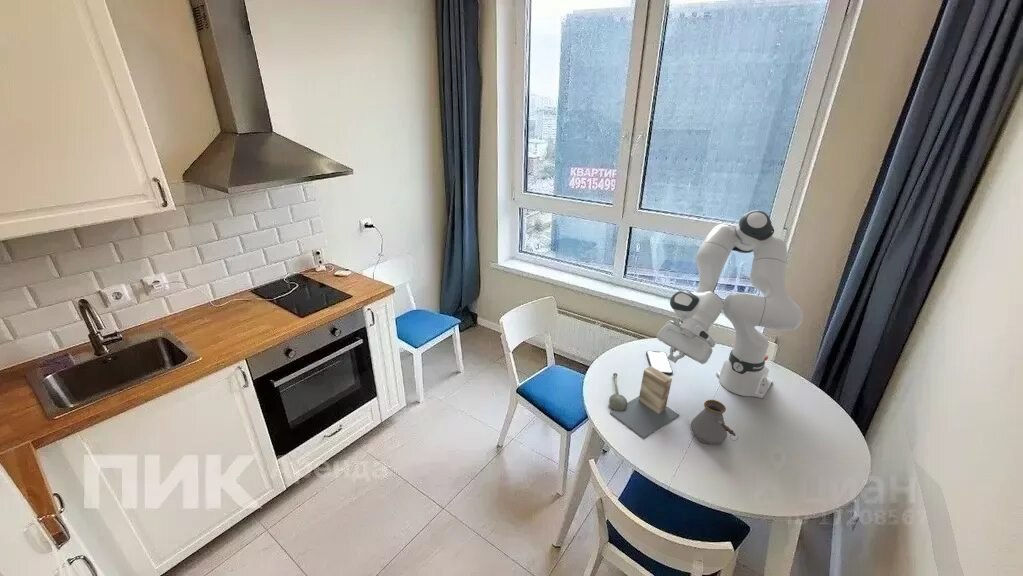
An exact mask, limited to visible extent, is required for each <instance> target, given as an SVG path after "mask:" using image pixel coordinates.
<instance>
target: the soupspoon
mask: <svg viewBox="0 0 1023 576" xmlns="http://www.w3.org/2000/svg"><path fill="white" fill-rule="evenodd" d="M612 375H613V377H614V384H615V394H612V395H610V396H609V399H608V403H609V406H610V408H612V410H617V411H623V410H625V409H626V408H627V403H628V401H627V398H626V397H625V396H624V395H622V394H619V387H618V382H617V381H618V380H617V378H618V373H616V372H614V373H613V374H612Z"/></svg>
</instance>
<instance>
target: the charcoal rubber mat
mask: <svg viewBox="0 0 1023 576" xmlns="http://www.w3.org/2000/svg"><path fill="white" fill-rule="evenodd" d="M609 414H610V415H611V416H613V417H614V418H615V419H616V420H618V421H620V422H621V423H622V424H623V425H625V426H626V427H627V428H628V429H630V430H631V431H633V432H634V434H637V435H638V436H639V437H641V438H642V439H643V440H644V439H645V438H647V437H648V436H650V435H652V434H653V433H655V432H657V431H658V430H660V429H661V428H662V427H665V425H667V424H668V423H670V422H671V421H673V420H675V419H676V418H677V417H679V416H680V413H678V412H676V411H674V410H673V409H672V408H671V407H669V406H667V405H666V409H665V410H664V411H662V412H661V413H659V414H658V413H657V412H655V411H654V410H652V409H651V408H649V407H648V406H646V405H645V404H643V403H642V402H640V401H639V395H638V396H637V397H635V398H633V399H632V400H629V401H627V408H626V409H625V410H623V411H617V410H615V409H612V411H610V412H609Z"/></svg>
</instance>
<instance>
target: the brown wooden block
mask: <svg viewBox="0 0 1023 576" xmlns="http://www.w3.org/2000/svg"><path fill="white" fill-rule="evenodd" d="M642 374H643V375H642V381H641V385H640V390H639V395H638V396H639V401H640V402H642V403H643V404H645V405H646V406H648V407H649V408H651V409H652V410H654V411H655V412H657V413H658V414H659V413H661V412H662V411H664V410H665V409H666V406H667V404H668V399H669V395H670V390H671V386H672V380H673V377H671V376H670V375H665V374H664V373H662V372H660V371H659V370H657V369H655V368H654V367H652V366H650V365H649V367H647V368H644V369H643V373H642Z"/></svg>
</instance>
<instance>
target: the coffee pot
mask: <svg viewBox="0 0 1023 576" xmlns="http://www.w3.org/2000/svg"><path fill="white" fill-rule="evenodd" d="M703 406H704V408H703V410H702V411H700V412H699V413H698V414H697V415H696V416H695V417H694V418H693V419H692V420H691V422H690V424H689V425H690V429H691V432H692V434H693V435H694V436H695V437H696V438H697V439H698V440H699V441H700V442H702V443H704V444H708V445H718V444H719V445H720V444H722V443H723V442H725V441H726V440H727V438H728V433H729V435H730V436H729V438H730V440H731V441H733V442H735V441H737V440H739V436H738V435H737V434H736V433H735V432H734V430H733V429H731V428H730V427H729V426H727V425H726V422H725V419H724V415H723V414H724V413H725V412H726V410H727V408H726V406H725V405H724V404H723V403H722V402H720V401H718V400H715V399H707V400H705V402H704V404H703ZM732 436H734V437H735V436H736V437H737V438H736V439H734V440H733V439H732V438H731V437H732Z"/></svg>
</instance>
